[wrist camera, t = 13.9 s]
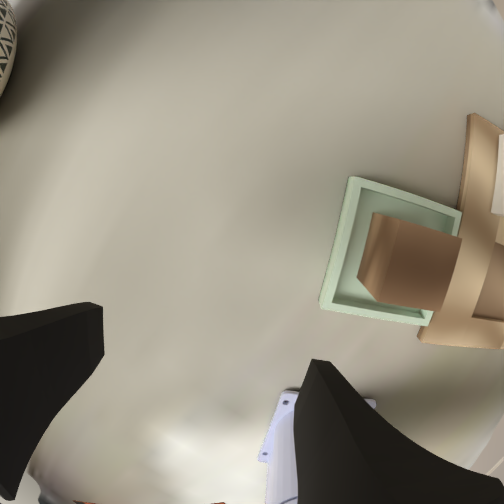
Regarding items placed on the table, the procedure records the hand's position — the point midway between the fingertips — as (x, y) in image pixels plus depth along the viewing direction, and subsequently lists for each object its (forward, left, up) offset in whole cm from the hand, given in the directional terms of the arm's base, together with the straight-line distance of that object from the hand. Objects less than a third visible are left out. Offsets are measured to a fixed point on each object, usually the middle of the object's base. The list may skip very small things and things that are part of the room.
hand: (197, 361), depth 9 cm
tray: (+4, -10, -10) cm, 14 cm away
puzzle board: (+7, -20, -10) cm, 23 cm away
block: (+4, -10, -10) cm, 14 cm away
